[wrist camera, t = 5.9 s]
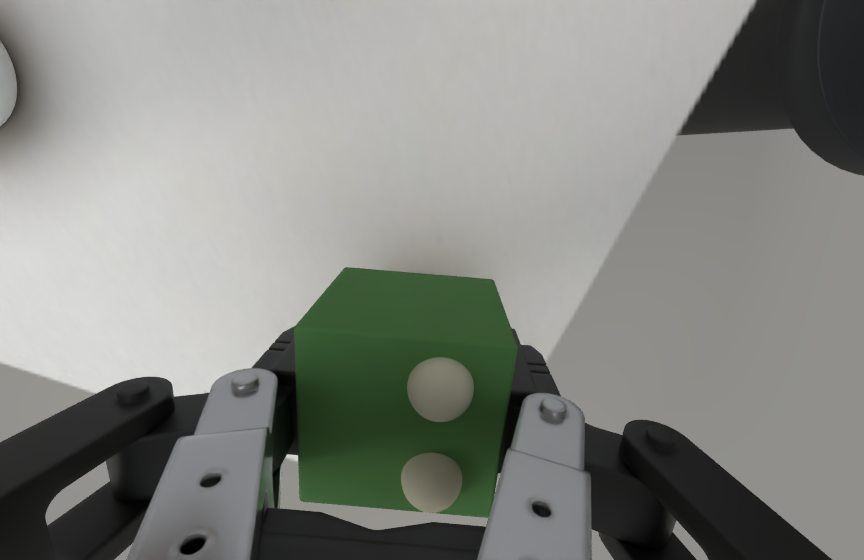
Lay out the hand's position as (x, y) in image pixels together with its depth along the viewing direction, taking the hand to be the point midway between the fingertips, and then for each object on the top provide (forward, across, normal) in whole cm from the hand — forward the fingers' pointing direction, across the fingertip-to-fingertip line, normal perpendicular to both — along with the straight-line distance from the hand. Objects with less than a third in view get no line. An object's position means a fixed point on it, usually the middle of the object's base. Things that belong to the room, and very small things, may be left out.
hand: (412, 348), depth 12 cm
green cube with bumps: (+1, 0, 0) cm, 1 cm away
